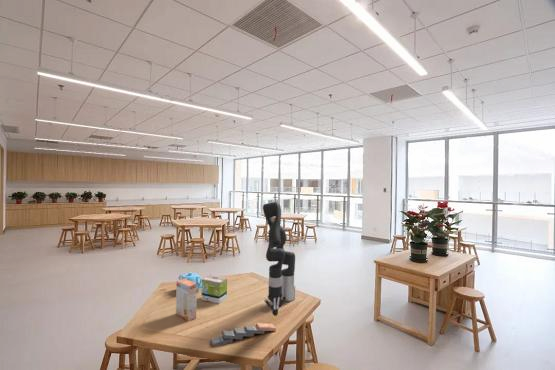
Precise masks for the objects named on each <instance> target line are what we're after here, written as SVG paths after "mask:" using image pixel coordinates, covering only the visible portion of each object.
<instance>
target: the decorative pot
mask: <svg viewBox="0 0 555 370" xmlns="http://www.w3.org/2000/svg"><path fill="white" fill-rule="evenodd" d="M182 279H186V280H189V281H191V282H194V283H196V284H197V291H199V290H200V289H202V279H203V278H202V277H201V276H200V275H199V274H198V273H197V272H192V271H189V272H187V273H185V274H180V275H179V276H178V280H182Z"/></svg>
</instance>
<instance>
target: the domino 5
mask: <svg viewBox="0 0 555 370" xmlns="http://www.w3.org/2000/svg"><path fill="white" fill-rule="evenodd" d="M255 326H256V327H257V328H258V330H262V331H265V332H277V327H276V326H275V325H274V324H273V323H262V322H256V324H255Z"/></svg>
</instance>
